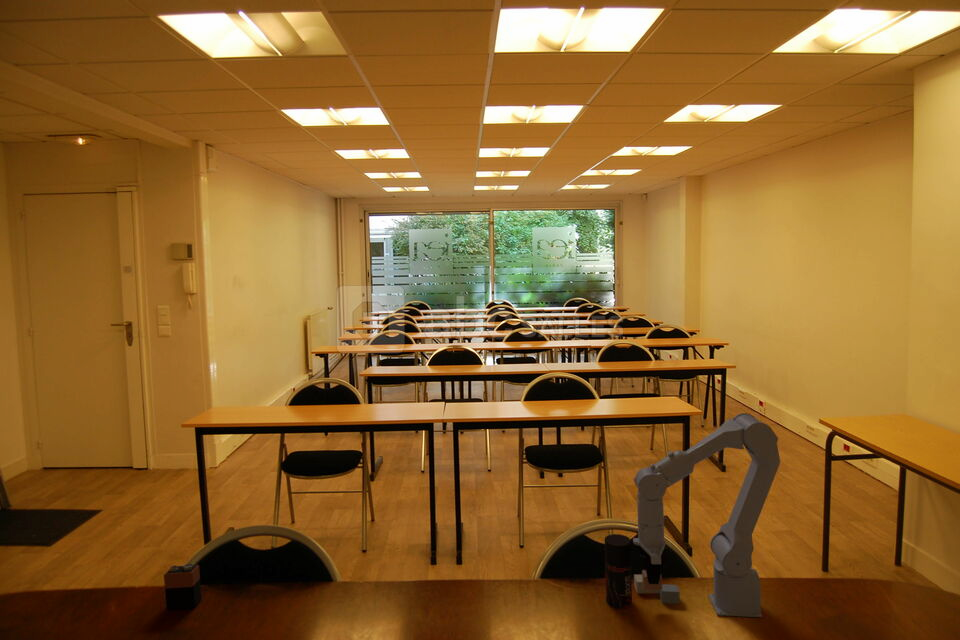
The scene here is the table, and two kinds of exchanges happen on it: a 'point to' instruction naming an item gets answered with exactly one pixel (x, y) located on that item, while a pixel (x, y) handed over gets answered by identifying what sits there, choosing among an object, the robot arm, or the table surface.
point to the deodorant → (618, 571)
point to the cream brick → (639, 585)
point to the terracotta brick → (650, 586)
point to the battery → (182, 587)
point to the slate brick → (670, 594)
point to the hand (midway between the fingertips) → (652, 579)
